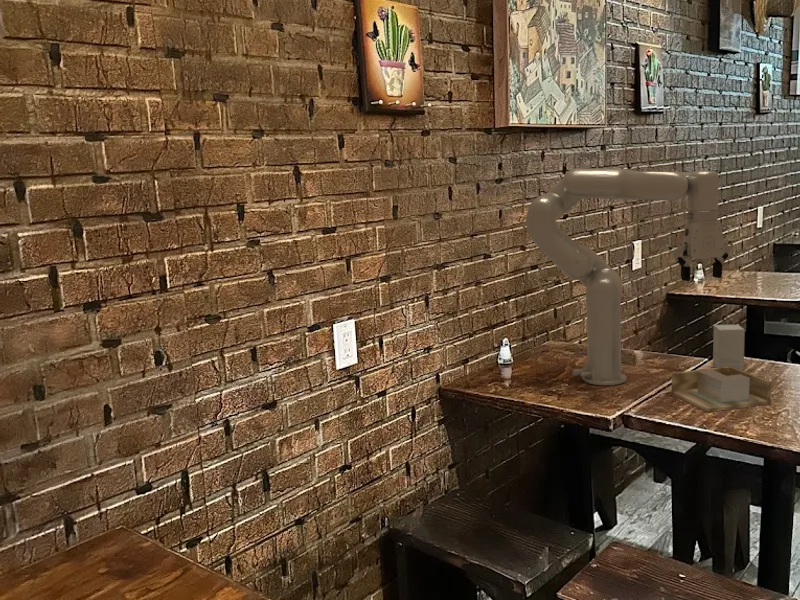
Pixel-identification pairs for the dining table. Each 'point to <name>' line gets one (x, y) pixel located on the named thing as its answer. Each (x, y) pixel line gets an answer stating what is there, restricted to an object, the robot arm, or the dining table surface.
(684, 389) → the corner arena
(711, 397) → the bracket
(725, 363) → the supplement box
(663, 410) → the dining table surface
